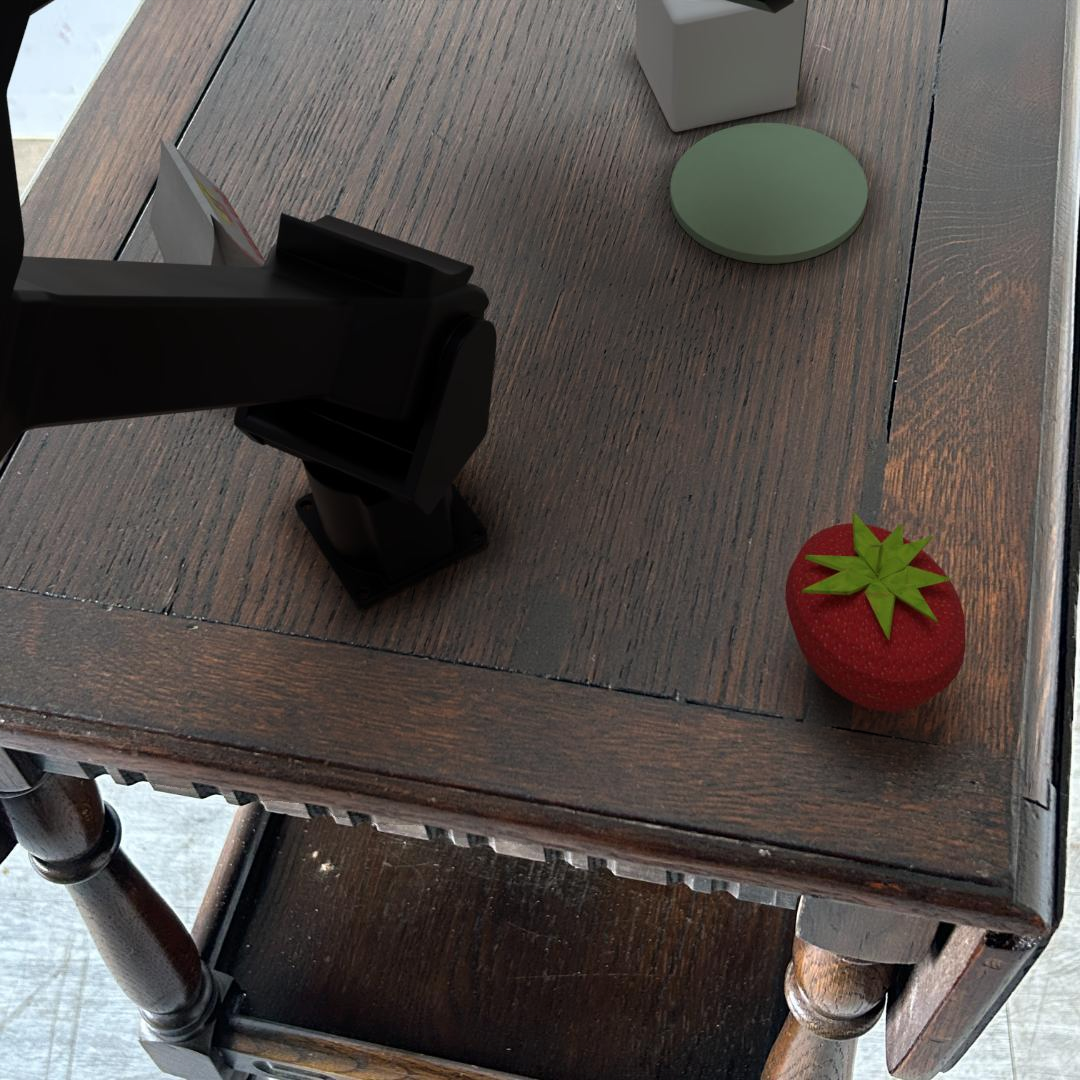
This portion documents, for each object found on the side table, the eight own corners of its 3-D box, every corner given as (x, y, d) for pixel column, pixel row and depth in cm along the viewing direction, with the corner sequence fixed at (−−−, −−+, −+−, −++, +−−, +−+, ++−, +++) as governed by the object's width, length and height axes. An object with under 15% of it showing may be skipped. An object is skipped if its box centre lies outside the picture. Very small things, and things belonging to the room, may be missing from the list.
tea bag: (231, 400, 66) (174, 242, 58) (183, 311, 70) (122, 151, 61) (303, 370, 67) (257, 210, 59) (252, 283, 70) (201, 121, 62)
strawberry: (846, 795, 53) (884, 663, 45) (741, 643, 57) (758, 498, 49) (975, 728, 54) (1034, 588, 46) (863, 584, 58) (900, 433, 50)
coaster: (907, 212, 71) (909, 203, 70) (745, 292, 68) (745, 283, 68) (787, 107, 76) (788, 98, 75) (632, 178, 73) (632, 169, 73)
